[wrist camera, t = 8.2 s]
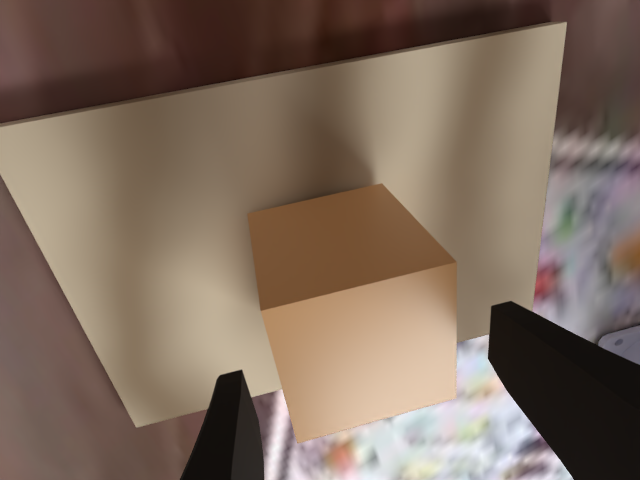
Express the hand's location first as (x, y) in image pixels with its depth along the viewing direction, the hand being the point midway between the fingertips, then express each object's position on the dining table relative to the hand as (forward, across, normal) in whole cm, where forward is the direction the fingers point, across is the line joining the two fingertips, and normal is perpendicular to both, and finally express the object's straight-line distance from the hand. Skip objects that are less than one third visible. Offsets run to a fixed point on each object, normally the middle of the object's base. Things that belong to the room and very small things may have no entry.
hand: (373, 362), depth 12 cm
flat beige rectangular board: (+7, 0, 0) cm, 7 cm away
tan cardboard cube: (+6, 0, 0) cm, 6 cm away
